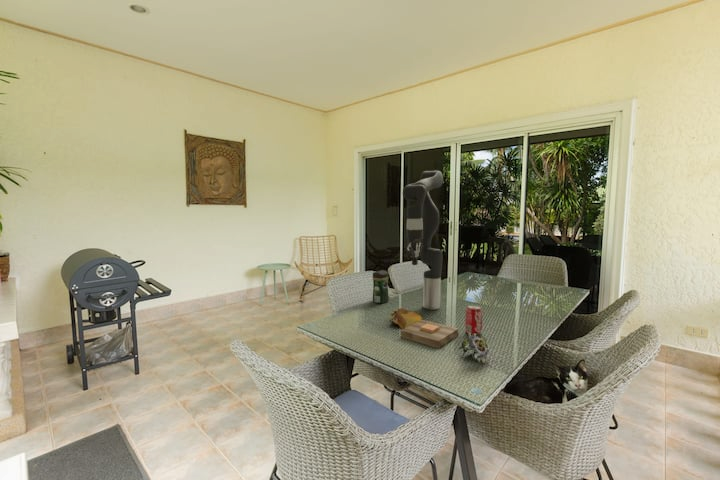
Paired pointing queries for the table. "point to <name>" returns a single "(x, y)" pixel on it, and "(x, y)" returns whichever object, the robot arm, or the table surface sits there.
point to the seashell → (405, 318)
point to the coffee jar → (380, 286)
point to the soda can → (473, 319)
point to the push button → (429, 328)
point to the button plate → (429, 334)
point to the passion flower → (476, 347)
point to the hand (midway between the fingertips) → (414, 264)
